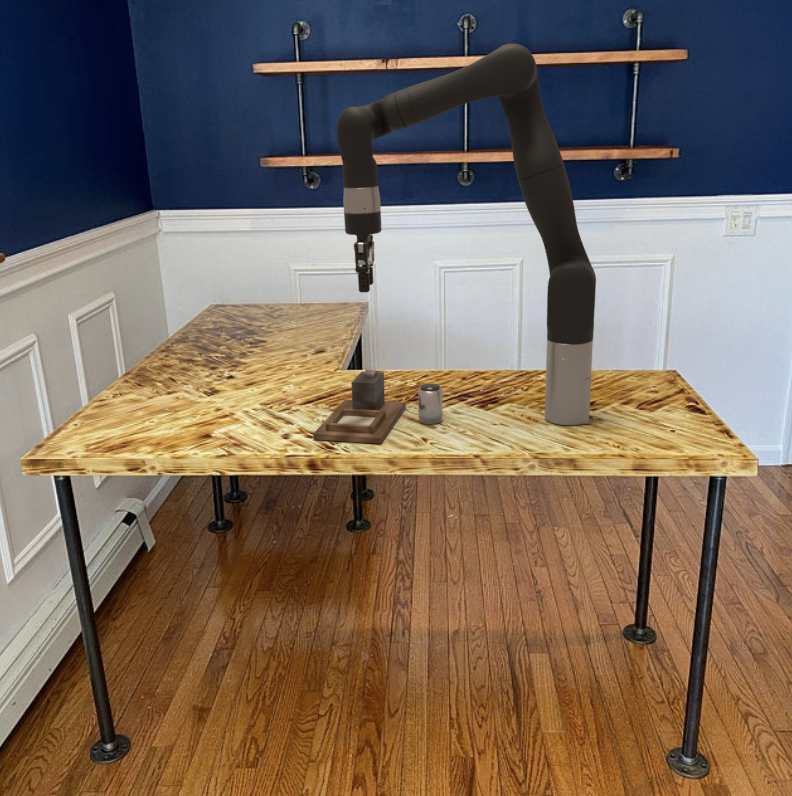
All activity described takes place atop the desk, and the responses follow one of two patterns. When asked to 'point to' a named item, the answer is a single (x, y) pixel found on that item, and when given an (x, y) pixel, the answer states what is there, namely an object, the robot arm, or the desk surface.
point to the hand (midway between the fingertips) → (366, 288)
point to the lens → (430, 403)
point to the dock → (362, 413)
